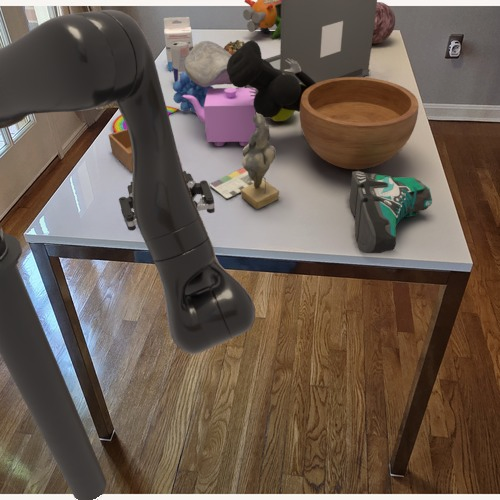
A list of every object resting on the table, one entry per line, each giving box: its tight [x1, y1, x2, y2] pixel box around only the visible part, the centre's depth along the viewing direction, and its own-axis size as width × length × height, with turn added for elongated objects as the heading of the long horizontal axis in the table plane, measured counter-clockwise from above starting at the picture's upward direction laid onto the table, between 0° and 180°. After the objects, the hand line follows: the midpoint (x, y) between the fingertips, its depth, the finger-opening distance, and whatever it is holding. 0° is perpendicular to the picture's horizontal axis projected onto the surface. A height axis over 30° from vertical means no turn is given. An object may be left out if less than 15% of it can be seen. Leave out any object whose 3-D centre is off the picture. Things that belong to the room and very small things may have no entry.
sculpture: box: [372, 1, 396, 44], centre depth 174 cm, size 17×17×30 cm
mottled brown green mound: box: [223, 39, 246, 55], centre depth 174 cm, size 11×11×5 cm
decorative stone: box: [184, 40, 233, 87], centre depth 128 cm, size 15×10×15 cm
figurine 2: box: [209, 113, 280, 210], centre depth 106 cm, size 10×14×20 cm
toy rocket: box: [242, 0, 281, 40], centre depth 188 cm, size 14×25×15 cm
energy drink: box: [170, 41, 190, 83], centre depth 154 cm, size 5×5×12 cm
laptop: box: [244, 0, 378, 88], centre depth 151 cm, size 35×28×28 cm
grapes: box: [172, 72, 214, 114], centre depth 139 cm, size 12×7×12 cm, turn 77°
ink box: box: [163, 16, 194, 72], centre depth 163 cm, size 8×5×15 cm, turn 98°
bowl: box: [299, 76, 419, 170], centre depth 116 cm, size 25×25×15 cm
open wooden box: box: [108, 129, 133, 174], centre depth 124 cm, size 11×11×5 cm
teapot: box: [182, 87, 257, 147], centre depth 127 cm, size 20×10×12 cm, turn 88°
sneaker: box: [349, 170, 433, 254], centre depth 100 cm, size 9×24×15 cm
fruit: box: [270, 108, 296, 122], centre depth 135 cm, size 9×9×10 cm
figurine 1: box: [227, 40, 316, 119], centre depth 119 cm, size 14×12×30 cm
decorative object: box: [112, 105, 179, 133], centre depth 141 cm, size 20×1×10 cm
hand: (158, 181), depth 87 cm, fingers open, 8 cm apart
